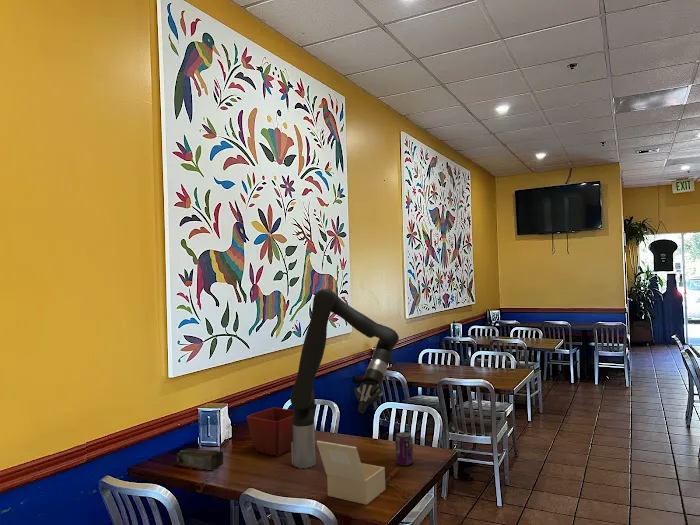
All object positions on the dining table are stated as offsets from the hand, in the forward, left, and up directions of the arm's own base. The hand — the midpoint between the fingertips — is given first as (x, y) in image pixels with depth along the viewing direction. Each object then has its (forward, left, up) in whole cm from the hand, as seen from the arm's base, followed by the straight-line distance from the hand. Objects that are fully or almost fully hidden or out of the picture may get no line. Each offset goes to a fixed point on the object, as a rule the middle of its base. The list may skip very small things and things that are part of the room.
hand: (360, 411), depth 189 cm
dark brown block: (-74, -13, -28) cm, 80 cm away
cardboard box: (+1, -6, -28) cm, 28 cm away
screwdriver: (+6, +11, -28) cm, 31 cm away
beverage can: (+4, +28, -28) cm, 40 cm away
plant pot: (-56, +17, -28) cm, 65 cm away
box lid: (+1, -16, -13) cm, 20 cm away
